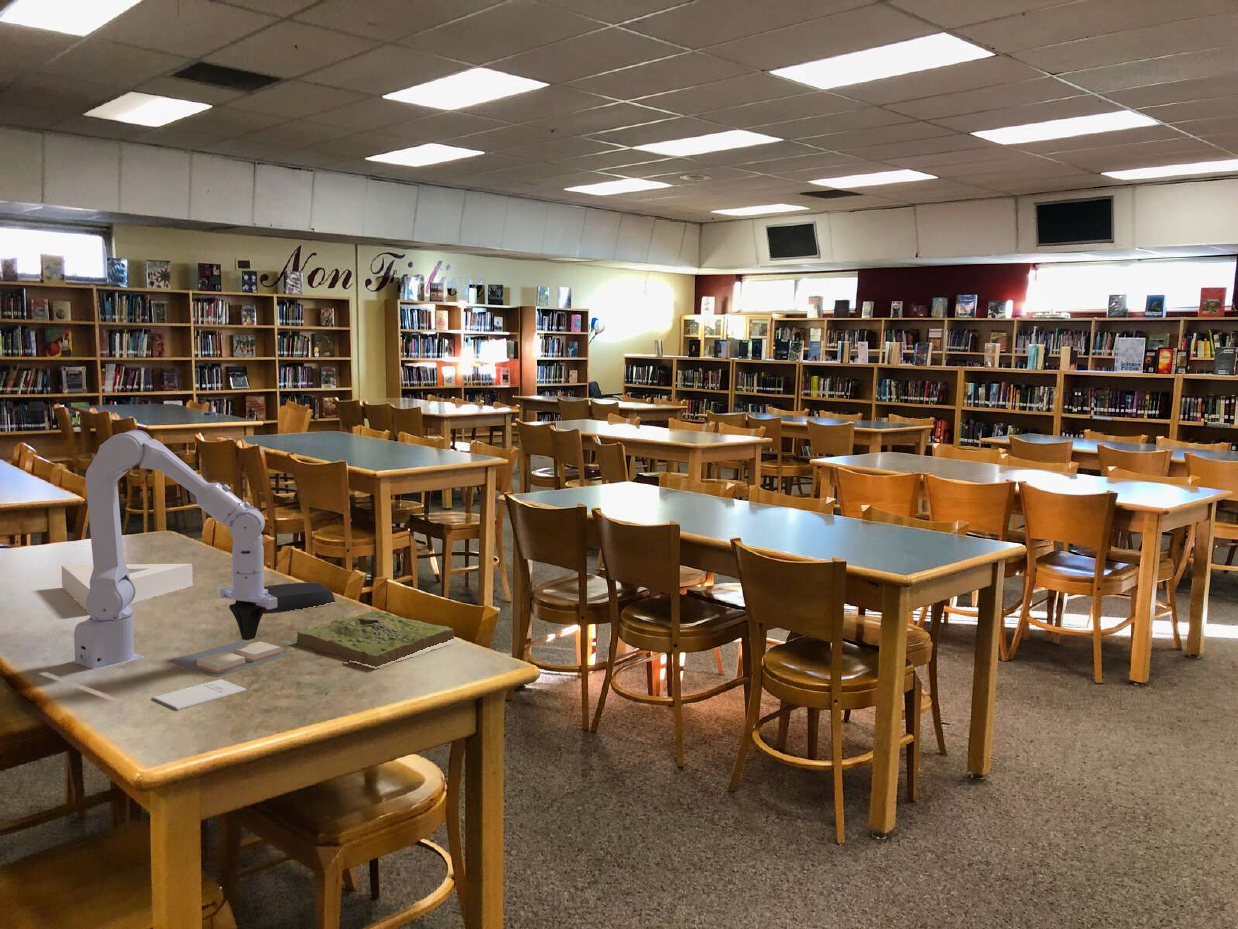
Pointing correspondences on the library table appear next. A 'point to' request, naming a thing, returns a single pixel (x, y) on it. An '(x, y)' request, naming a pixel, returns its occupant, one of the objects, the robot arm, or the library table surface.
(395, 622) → the miniature landscape model
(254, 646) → the tile right
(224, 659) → the tile left
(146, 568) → the triangle block
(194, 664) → the slate mat
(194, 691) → the external hard drive
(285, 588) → the external hard drive
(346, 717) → the library table surface
